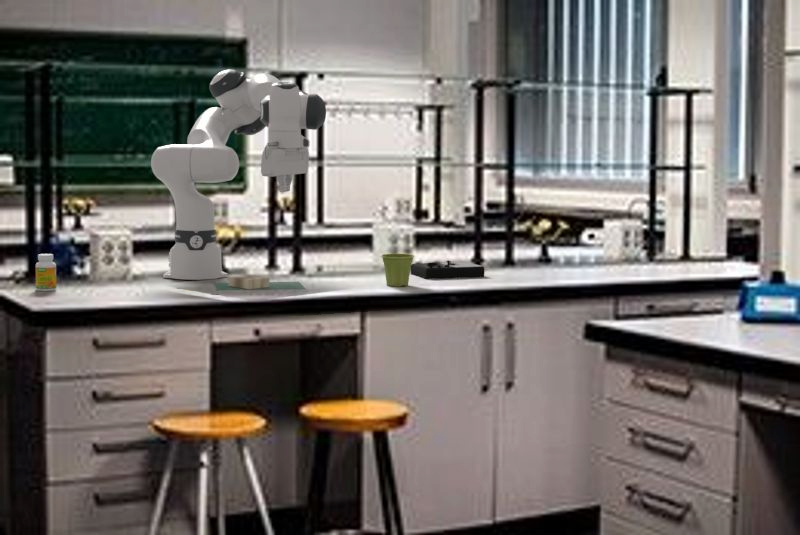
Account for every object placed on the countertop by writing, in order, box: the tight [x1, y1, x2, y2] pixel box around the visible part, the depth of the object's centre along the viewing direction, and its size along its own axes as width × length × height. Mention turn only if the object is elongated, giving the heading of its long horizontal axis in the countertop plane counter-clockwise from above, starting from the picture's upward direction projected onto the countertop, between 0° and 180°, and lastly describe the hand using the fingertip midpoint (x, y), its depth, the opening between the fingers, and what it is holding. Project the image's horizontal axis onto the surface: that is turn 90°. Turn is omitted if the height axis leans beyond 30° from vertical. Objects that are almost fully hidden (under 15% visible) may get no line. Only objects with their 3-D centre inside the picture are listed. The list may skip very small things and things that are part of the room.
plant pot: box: [380, 253, 415, 288], centre depth 370 cm, size 9×9×9 cm
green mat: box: [213, 281, 306, 296], centre depth 357 cm, size 16×24×1 cm, turn 101°
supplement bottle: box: [35, 253, 57, 292], centre depth 351 cm, size 5×5×10 cm
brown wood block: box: [227, 274, 270, 291], centre depth 354 cm, size 9×3×7 cm
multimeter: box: [410, 260, 485, 280], centre depth 395 cm, size 13×19×5 cm
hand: (284, 191), depth 360 cm, fingers closed
